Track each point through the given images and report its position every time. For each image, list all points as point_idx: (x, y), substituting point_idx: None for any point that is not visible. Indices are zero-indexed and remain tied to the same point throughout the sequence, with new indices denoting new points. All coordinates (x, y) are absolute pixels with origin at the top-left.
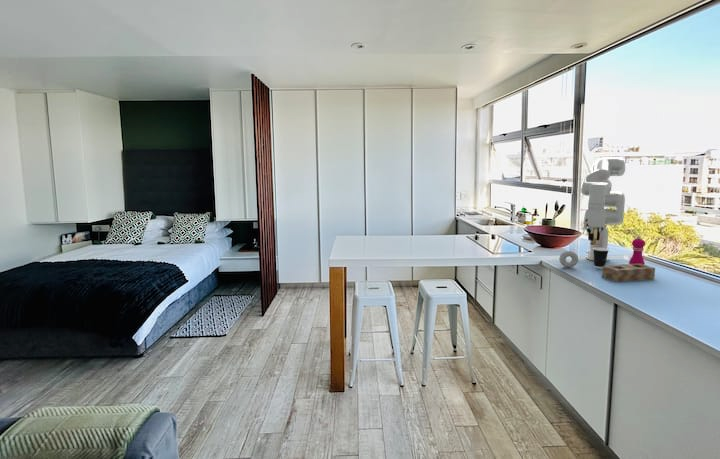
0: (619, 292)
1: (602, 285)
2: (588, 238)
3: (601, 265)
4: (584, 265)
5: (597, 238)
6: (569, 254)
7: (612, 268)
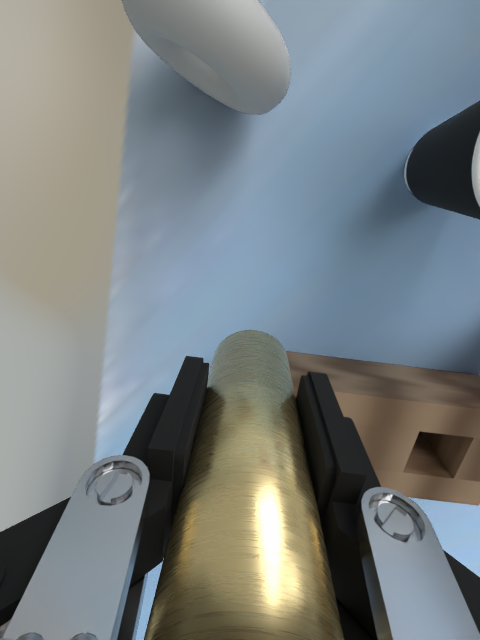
0: None
1: None
2: (154, 398)
3: (424, 202)
4: (395, 60)
5: None
6: (185, 47)
7: None
